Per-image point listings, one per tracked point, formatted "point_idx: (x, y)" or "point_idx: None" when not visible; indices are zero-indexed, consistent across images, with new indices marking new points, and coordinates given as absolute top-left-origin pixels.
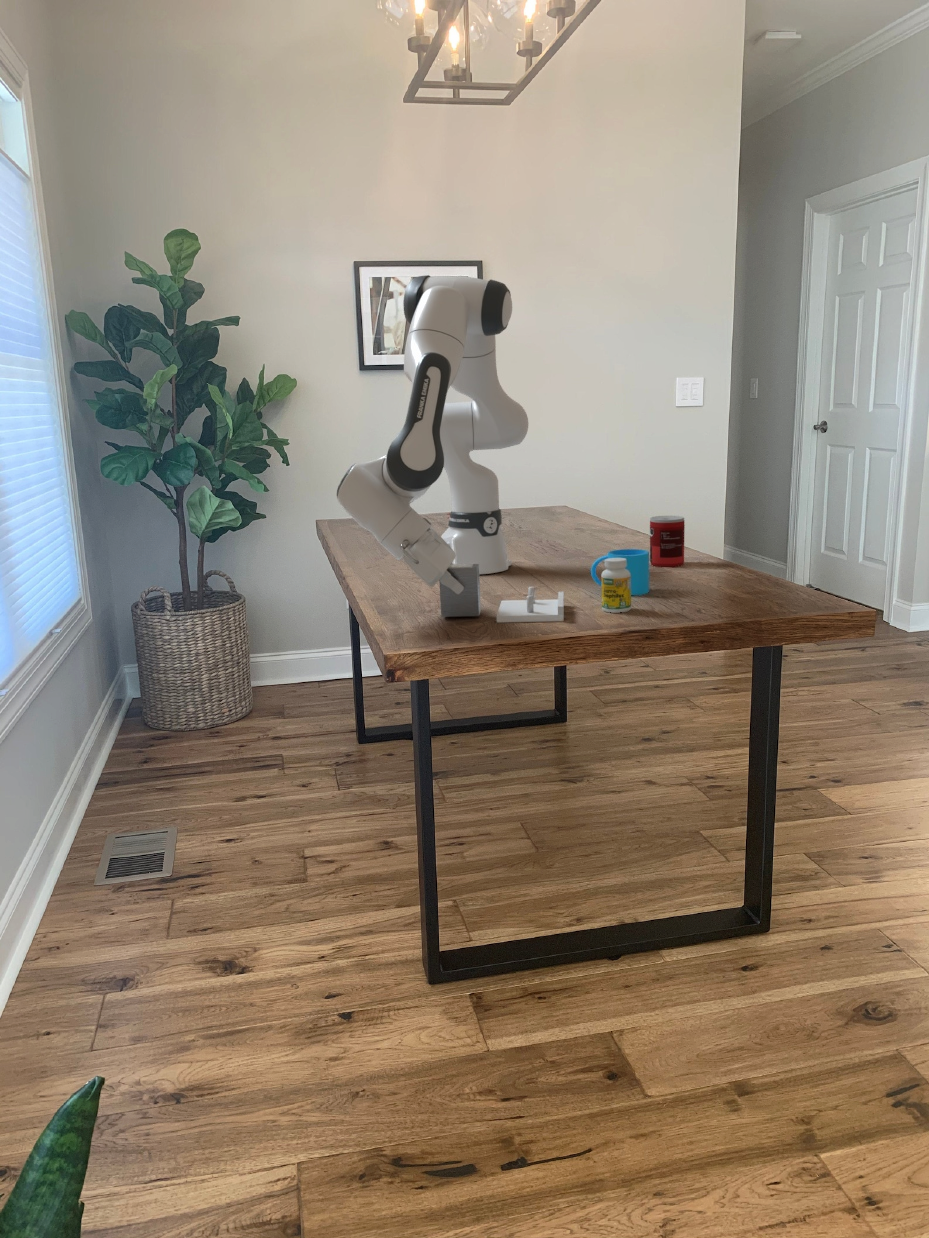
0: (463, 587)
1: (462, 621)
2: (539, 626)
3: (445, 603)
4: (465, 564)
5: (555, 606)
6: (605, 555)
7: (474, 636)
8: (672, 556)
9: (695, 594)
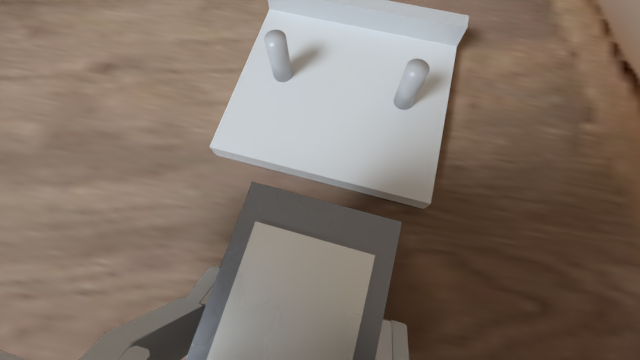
0: (401, 323)
1: None
2: (496, 109)
3: None
4: (271, 288)
5: (355, 32)
6: None
7: (600, 314)
8: None
9: None
